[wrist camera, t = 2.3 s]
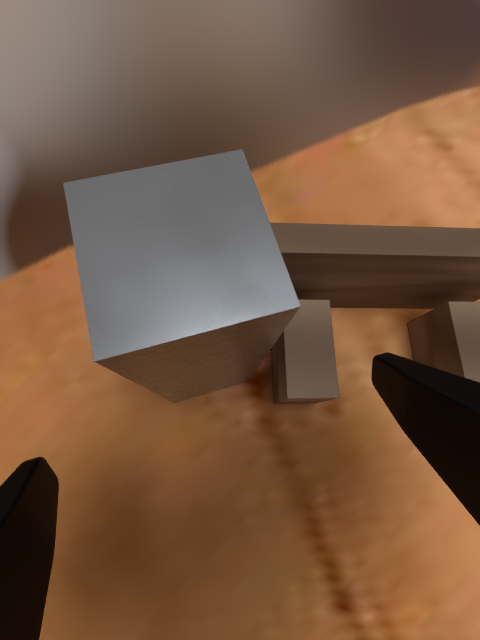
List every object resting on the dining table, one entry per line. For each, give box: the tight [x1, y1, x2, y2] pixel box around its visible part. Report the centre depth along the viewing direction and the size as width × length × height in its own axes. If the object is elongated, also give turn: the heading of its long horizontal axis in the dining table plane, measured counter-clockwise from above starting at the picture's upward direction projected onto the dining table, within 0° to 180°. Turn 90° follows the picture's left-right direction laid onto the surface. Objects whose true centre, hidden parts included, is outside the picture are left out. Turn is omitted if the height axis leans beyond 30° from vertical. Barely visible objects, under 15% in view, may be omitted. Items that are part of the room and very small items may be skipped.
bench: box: [270, 223, 480, 403], centre depth 18 cm, size 8×14×7 cm, turn 91°
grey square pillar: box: [63, 149, 301, 403], centre depth 14 cm, size 4×4×13 cm
